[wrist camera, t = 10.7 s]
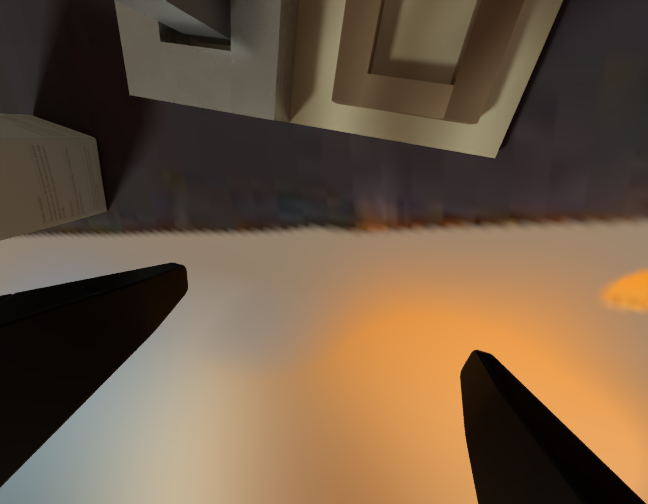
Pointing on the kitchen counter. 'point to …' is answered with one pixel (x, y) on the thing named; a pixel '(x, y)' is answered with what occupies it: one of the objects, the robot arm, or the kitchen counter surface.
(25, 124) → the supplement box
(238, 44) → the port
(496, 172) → the kitchen counter surface
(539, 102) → the kitchen counter surface
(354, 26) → the brown rectangular frame
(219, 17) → the plug
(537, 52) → the board
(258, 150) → the kitchen counter surface
